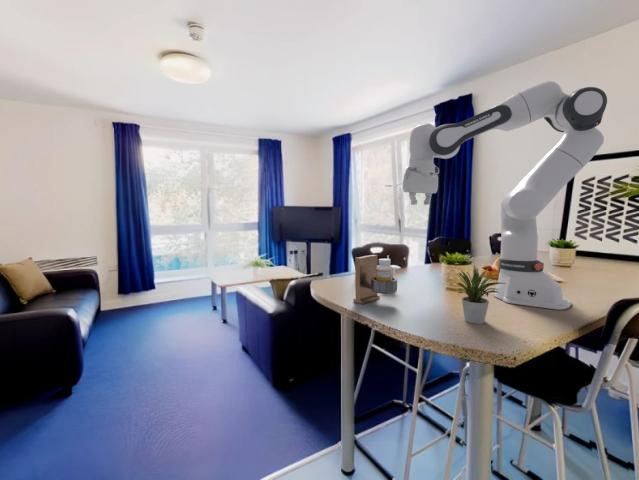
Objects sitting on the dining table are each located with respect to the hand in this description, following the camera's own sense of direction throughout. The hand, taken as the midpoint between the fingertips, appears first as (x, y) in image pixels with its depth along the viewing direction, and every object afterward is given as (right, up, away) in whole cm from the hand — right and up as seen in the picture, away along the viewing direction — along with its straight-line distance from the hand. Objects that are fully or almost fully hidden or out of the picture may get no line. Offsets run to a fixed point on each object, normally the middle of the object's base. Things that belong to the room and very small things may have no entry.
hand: (420, 204), depth 124 cm
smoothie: (-11, -34, +6) cm, 36 cm away
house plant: (+5, -37, -32) cm, 50 cm away
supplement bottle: (-17, -30, -15) cm, 38 cm away
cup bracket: (-19, -36, -13) cm, 42 cm away
